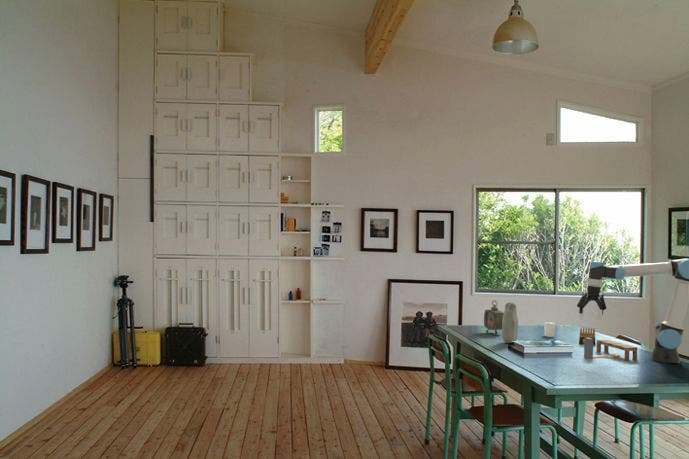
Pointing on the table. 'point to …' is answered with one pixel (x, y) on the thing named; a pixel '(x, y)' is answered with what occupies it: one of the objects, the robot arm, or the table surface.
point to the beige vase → (510, 323)
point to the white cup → (549, 329)
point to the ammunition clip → (586, 335)
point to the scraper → (589, 349)
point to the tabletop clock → (493, 319)
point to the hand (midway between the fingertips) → (590, 319)
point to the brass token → (615, 355)
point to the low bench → (618, 346)
